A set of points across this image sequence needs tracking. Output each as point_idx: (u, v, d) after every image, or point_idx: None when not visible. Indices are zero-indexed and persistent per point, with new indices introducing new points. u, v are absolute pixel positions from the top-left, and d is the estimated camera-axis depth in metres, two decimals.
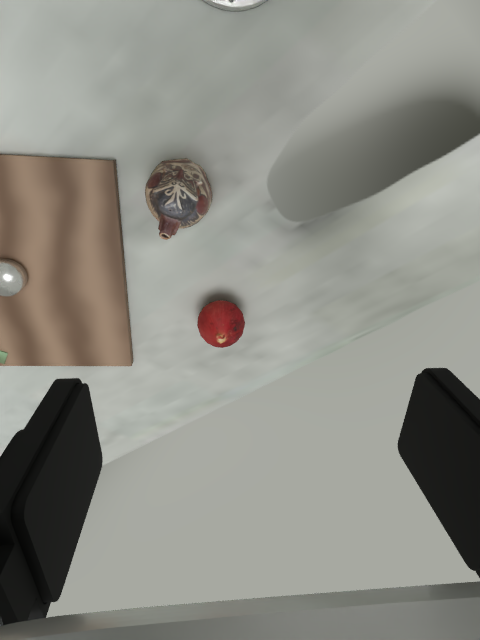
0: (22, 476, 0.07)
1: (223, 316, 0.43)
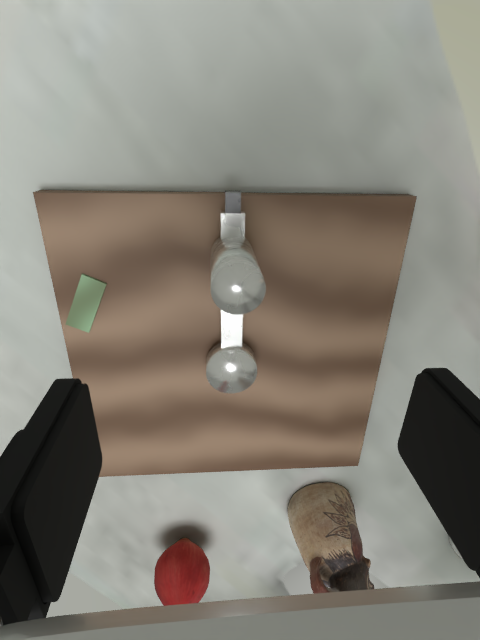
0: (22, 476, 0.07)
1: (201, 596, 0.37)
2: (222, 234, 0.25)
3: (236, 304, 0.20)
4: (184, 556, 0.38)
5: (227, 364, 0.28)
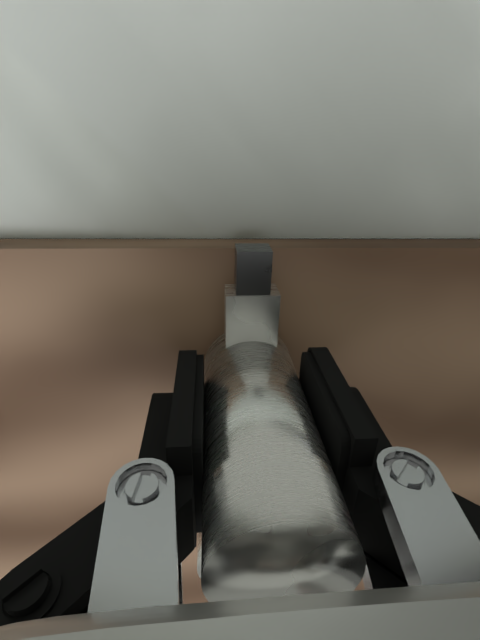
0: (192, 421, 0.08)
1: None
2: (229, 337, 0.11)
3: None
4: None
5: None
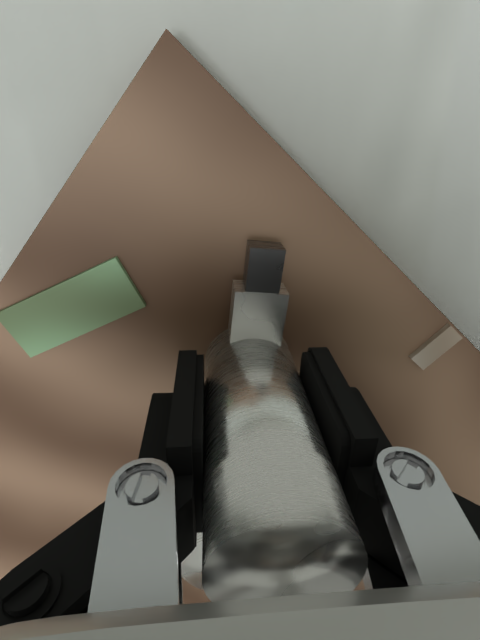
0: (192, 421, 0.08)
1: None
2: (234, 333, 0.11)
3: None
4: None
5: None
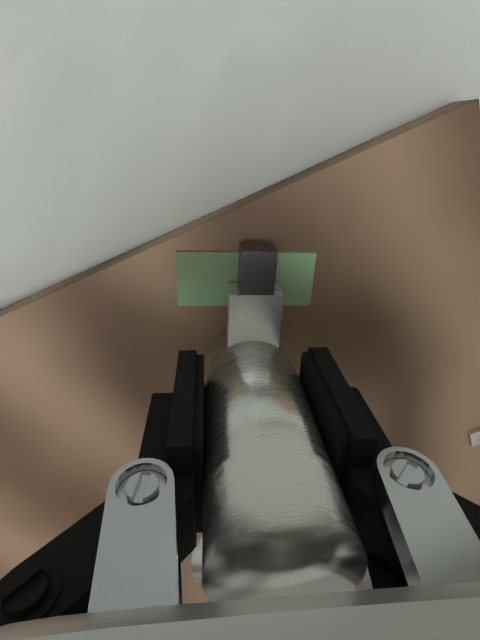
0: (192, 421, 0.08)
1: None
2: (231, 337, 0.11)
3: None
4: None
5: None
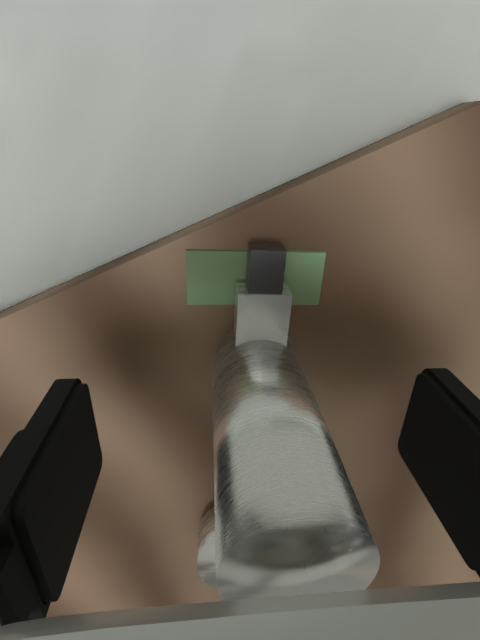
0: (22, 476, 0.07)
1: None
2: (239, 335, 0.11)
3: None
4: None
5: None
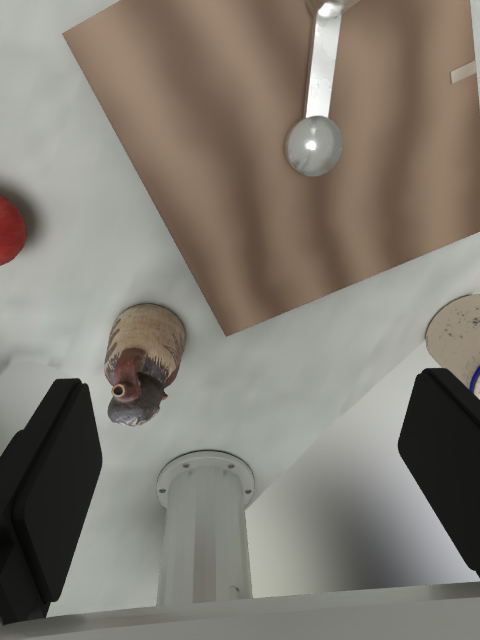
0: (22, 476, 0.07)
1: None
2: None
3: None
4: (16, 216, 0.27)
5: (311, 135, 0.26)
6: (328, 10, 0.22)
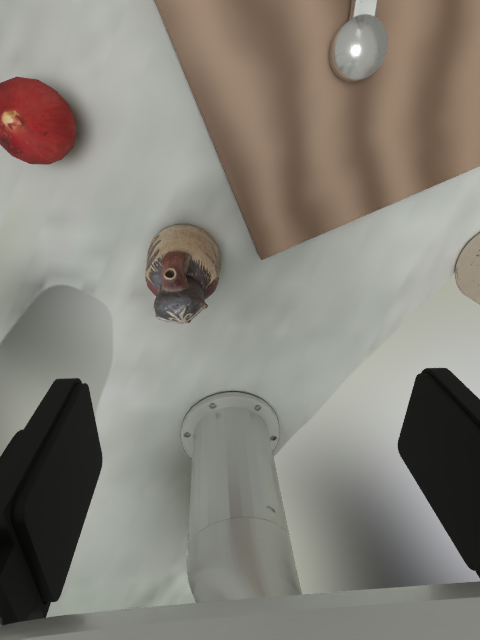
0: (23, 476, 0.07)
1: (37, 152, 0.27)
2: None
3: None
4: (69, 111, 0.28)
5: (358, 35, 0.27)
6: None
